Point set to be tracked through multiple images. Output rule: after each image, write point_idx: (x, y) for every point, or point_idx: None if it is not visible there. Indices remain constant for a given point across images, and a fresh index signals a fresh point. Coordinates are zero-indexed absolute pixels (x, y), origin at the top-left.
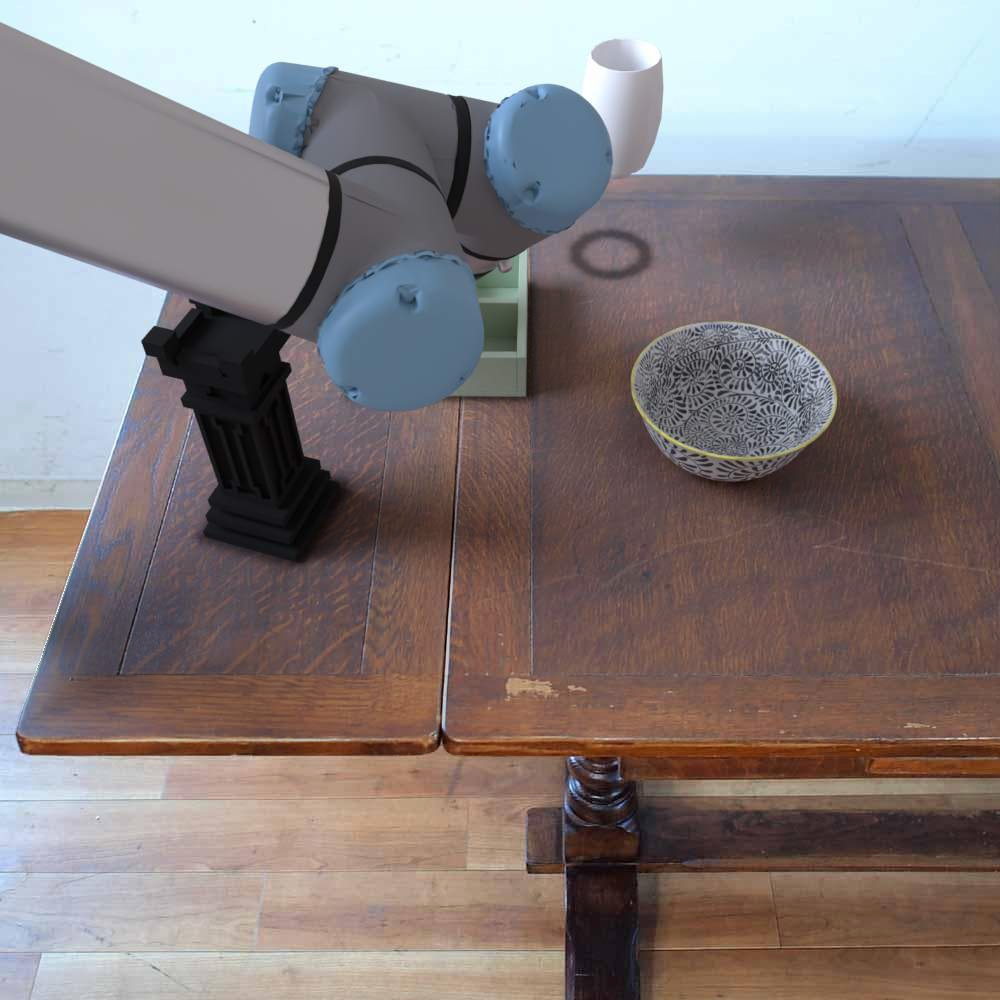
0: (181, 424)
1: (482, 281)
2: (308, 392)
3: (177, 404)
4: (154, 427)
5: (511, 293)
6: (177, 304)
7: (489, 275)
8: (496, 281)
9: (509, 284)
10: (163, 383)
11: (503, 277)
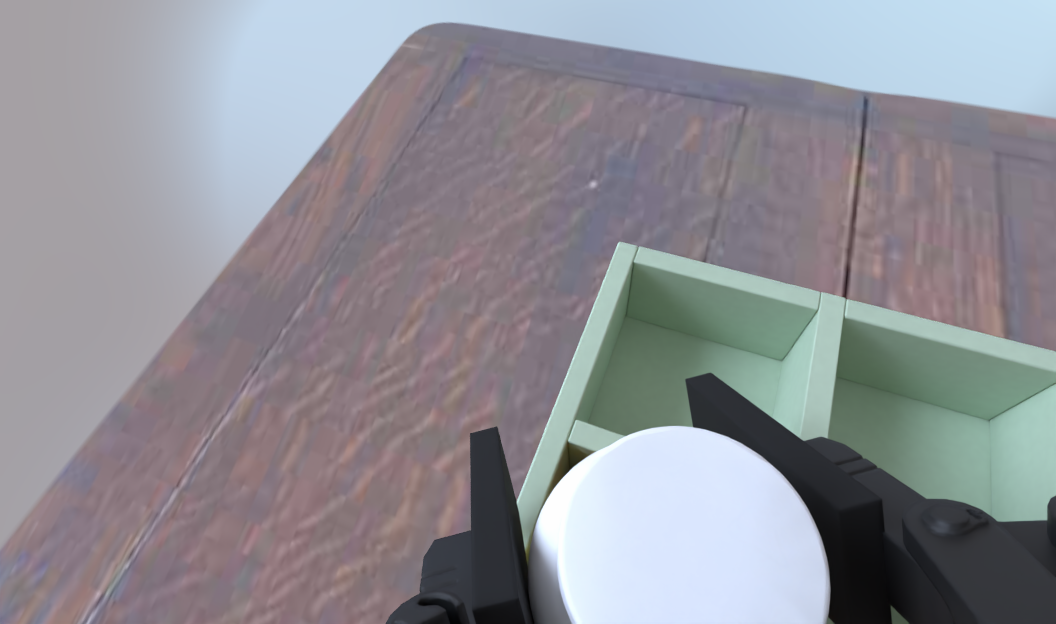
0: (68, 615)
1: (892, 382)
2: (372, 617)
3: (99, 537)
4: (16, 601)
5: (965, 435)
6: (249, 247)
7: (923, 380)
8: (933, 394)
9: (966, 409)
10: (113, 456)
11: (961, 395)
